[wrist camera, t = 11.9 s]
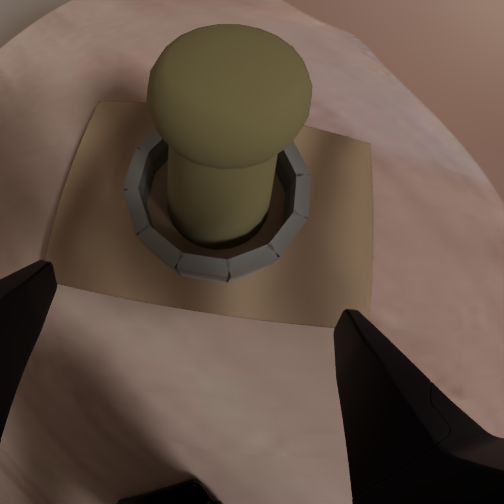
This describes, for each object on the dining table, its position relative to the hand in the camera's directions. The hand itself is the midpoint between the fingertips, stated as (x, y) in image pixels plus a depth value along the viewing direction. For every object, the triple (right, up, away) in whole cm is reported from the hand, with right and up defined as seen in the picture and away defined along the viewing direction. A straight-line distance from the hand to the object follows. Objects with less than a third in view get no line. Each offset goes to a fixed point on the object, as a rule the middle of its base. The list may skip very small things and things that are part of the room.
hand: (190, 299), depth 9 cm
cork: (0, +4, +9) cm, 10 cm away
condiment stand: (0, +4, +10) cm, 11 cm away
